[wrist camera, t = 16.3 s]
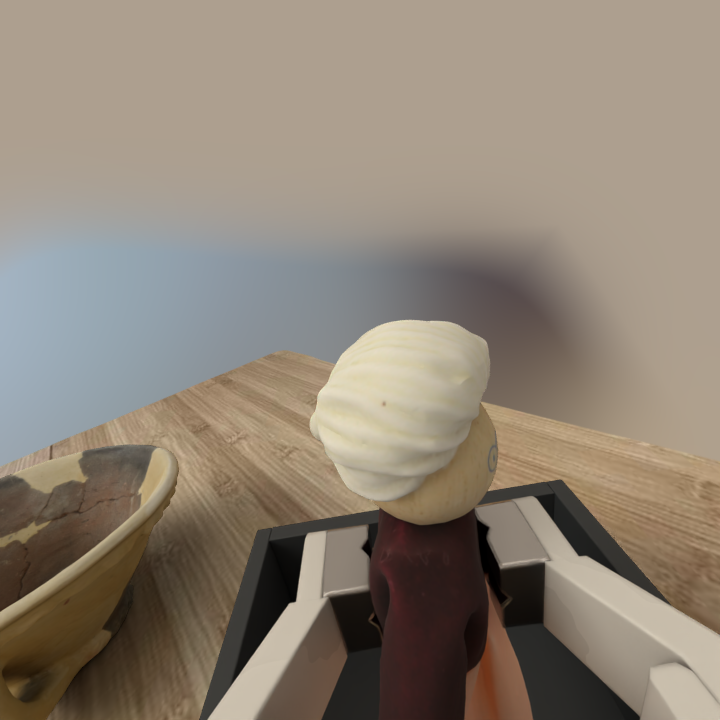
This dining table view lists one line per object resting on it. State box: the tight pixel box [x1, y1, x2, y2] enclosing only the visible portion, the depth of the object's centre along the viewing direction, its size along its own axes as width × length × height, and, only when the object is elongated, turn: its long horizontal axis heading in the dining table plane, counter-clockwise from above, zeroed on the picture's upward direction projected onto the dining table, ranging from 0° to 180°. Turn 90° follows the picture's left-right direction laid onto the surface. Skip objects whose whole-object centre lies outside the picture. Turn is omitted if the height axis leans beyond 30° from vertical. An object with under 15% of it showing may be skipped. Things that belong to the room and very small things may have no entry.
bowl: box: [0, 445, 179, 720], centre depth 21 cm, size 18×18×10 cm
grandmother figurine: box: [310, 320, 533, 720], centre depth 7 cm, size 8×4×13 cm, turn 176°
